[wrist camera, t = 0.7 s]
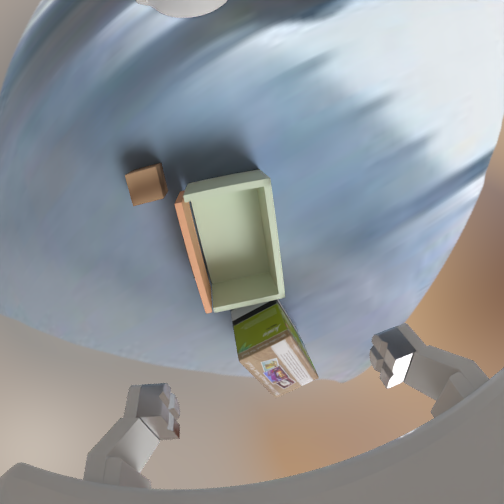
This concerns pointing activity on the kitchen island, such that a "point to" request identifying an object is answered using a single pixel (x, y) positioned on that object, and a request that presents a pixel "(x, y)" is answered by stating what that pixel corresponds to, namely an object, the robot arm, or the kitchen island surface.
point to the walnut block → (147, 184)
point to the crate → (238, 238)
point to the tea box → (271, 347)
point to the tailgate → (194, 250)
